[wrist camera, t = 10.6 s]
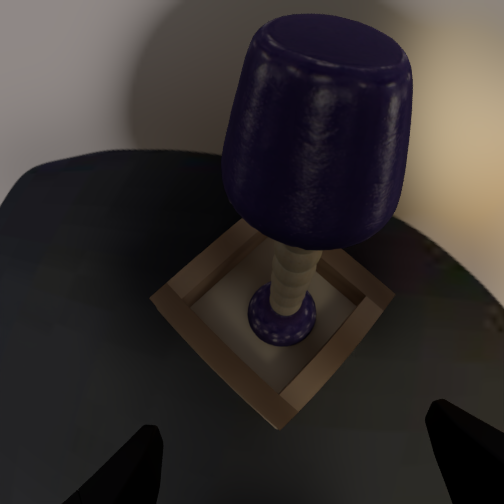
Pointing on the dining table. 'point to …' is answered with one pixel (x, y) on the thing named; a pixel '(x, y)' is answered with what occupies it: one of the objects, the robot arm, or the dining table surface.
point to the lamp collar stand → (244, 339)
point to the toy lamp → (314, 152)
